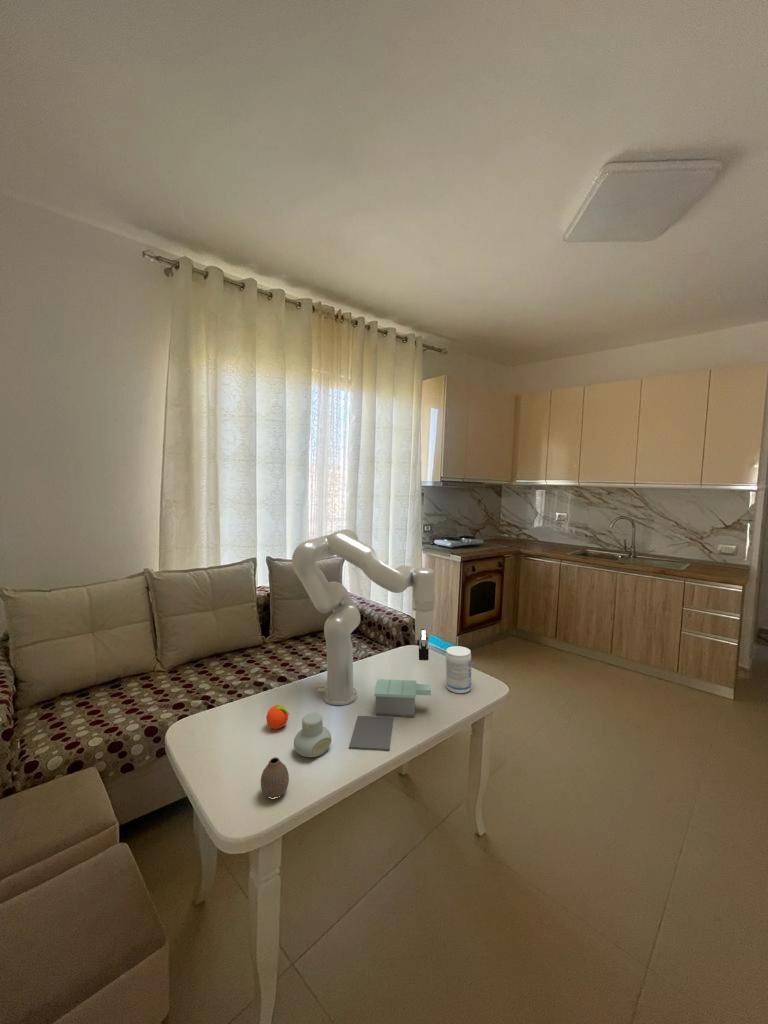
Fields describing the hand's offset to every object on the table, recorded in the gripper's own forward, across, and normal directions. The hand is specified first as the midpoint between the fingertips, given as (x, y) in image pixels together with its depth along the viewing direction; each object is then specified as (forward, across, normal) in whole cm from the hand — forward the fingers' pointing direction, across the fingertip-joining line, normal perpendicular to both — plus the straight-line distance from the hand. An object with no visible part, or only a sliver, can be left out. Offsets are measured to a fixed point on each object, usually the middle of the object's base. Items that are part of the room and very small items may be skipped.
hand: (423, 653), depth 136 cm
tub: (+20, 0, -10) cm, 22 cm away
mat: (+20, +14, -16) cm, 29 cm away
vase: (+20, +40, -38) cm, 59 cm away
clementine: (+20, +13, -47) cm, 53 cm away
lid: (+14, 0, -7) cm, 15 cm away
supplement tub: (+20, -16, +13) cm, 29 cm away
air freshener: (+20, +24, -33) cm, 45 cm away
